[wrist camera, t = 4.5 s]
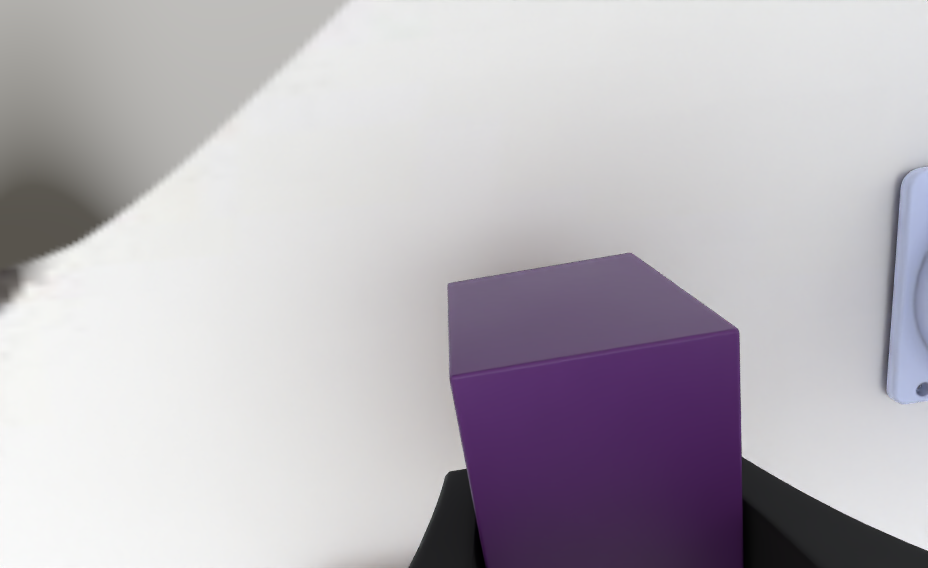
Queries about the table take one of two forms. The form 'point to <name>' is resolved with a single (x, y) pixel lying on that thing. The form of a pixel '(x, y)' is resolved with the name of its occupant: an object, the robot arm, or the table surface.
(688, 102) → the table surface
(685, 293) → the chocolate bar
